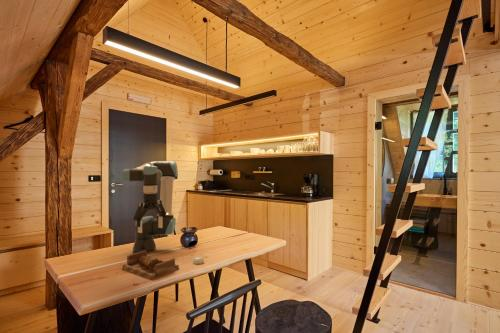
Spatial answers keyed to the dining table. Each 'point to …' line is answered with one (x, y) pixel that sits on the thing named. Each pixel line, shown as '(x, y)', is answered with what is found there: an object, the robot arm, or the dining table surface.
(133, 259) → the cradle
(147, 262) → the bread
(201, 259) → the beige round lump
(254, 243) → the dining table surface
